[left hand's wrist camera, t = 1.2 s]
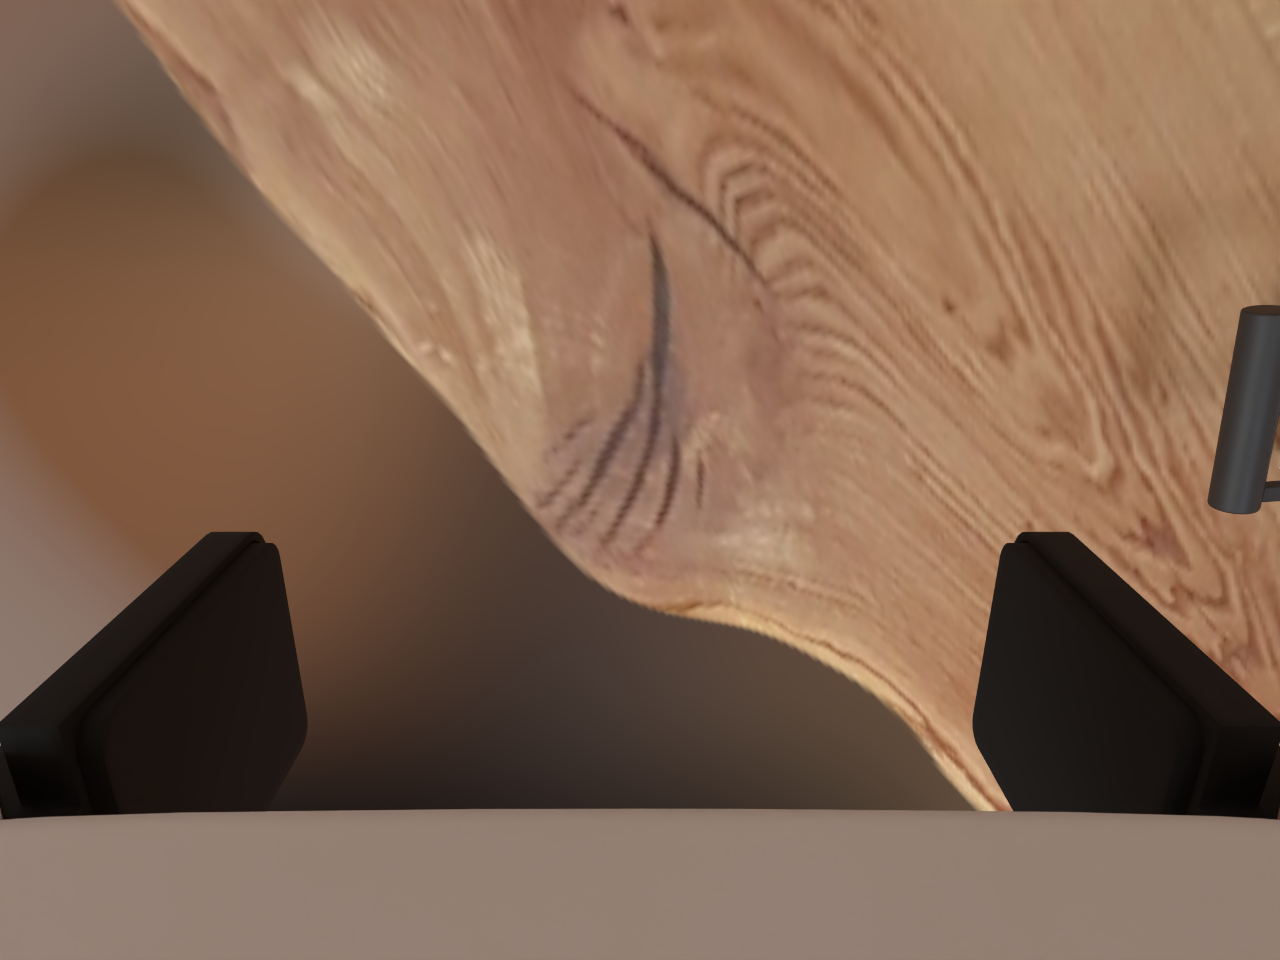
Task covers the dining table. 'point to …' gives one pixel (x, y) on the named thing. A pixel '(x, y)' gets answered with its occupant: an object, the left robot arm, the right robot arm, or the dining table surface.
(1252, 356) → the drawer
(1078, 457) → the dining table surface
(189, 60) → the dining table surface
